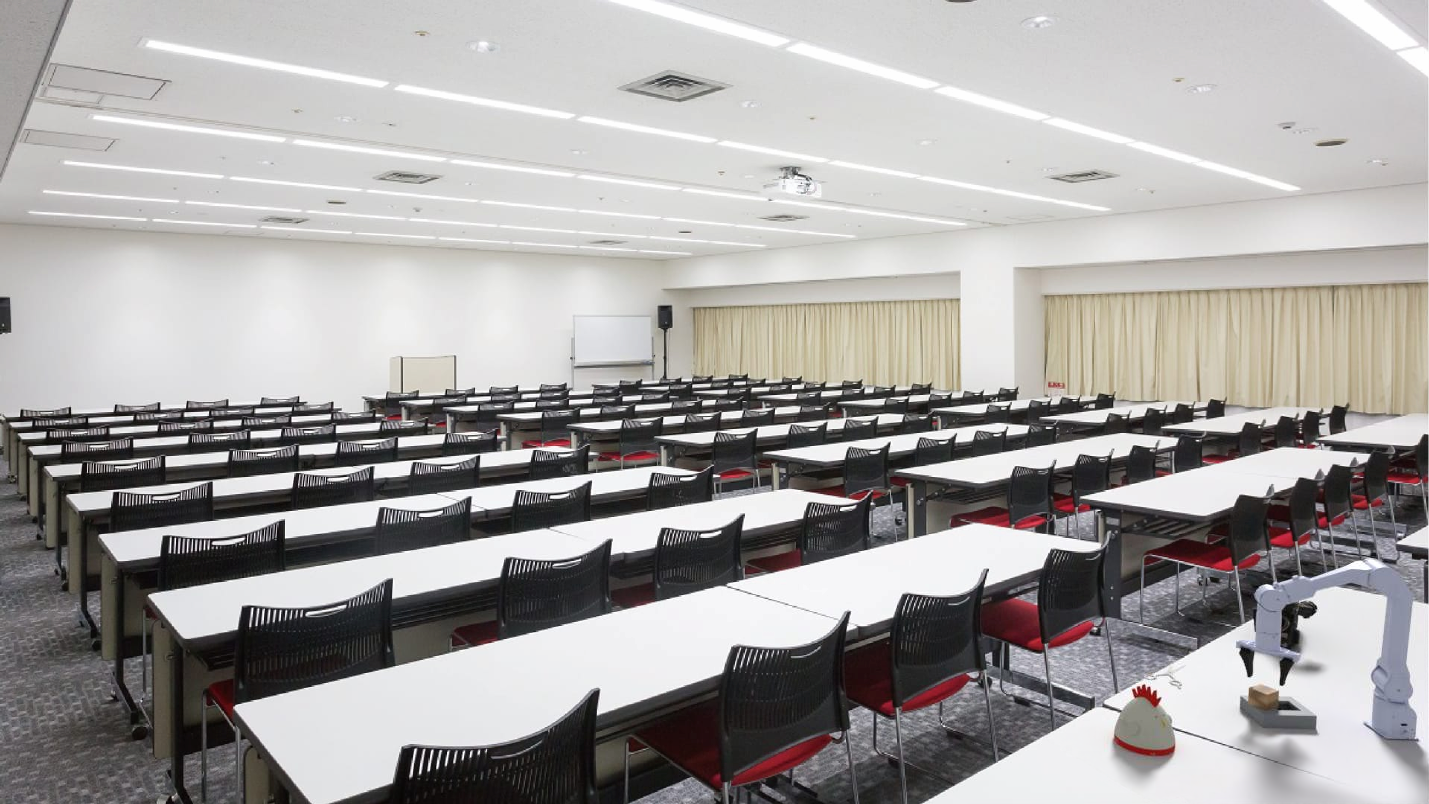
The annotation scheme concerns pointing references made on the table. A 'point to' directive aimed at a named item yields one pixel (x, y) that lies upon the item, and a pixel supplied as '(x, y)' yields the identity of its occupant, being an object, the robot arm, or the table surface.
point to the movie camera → (1292, 621)
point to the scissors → (1169, 675)
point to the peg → (1263, 697)
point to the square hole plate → (1281, 714)
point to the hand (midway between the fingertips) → (1265, 680)
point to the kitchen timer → (1145, 725)
